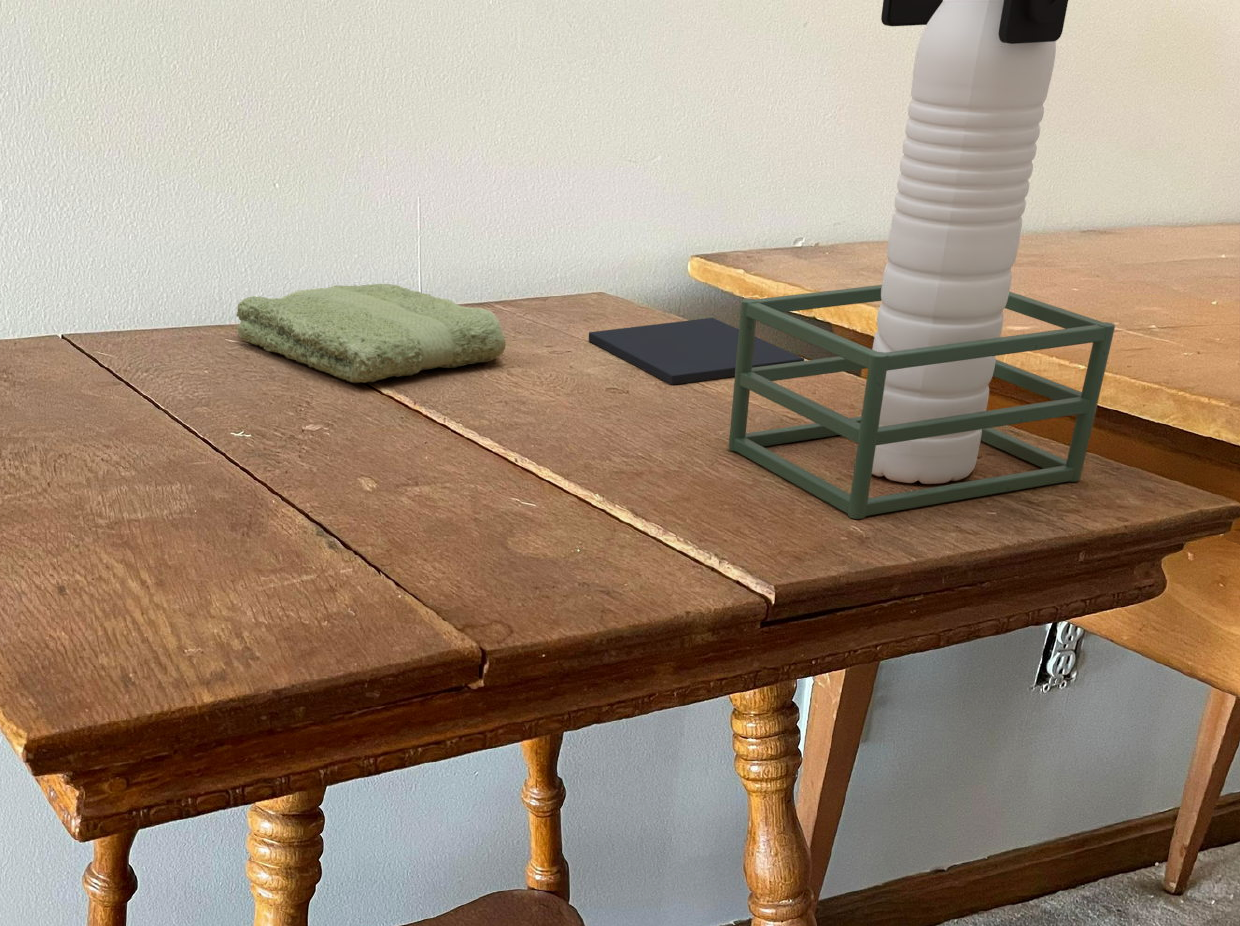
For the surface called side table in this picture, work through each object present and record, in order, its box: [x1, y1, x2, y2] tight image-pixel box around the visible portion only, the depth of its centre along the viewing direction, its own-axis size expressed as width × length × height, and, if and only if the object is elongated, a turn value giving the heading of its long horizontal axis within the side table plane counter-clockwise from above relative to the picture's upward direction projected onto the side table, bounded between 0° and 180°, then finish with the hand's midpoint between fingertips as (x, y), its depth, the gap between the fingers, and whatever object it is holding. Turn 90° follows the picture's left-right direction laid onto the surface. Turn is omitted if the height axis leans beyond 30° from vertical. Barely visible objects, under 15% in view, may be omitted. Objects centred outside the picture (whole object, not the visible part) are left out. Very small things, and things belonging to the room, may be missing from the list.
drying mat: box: [588, 317, 805, 386], centre depth 104 cm, size 12×10×1 cm
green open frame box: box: [728, 284, 1116, 520], centre depth 83 cm, size 13×15×8 cm
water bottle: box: [871, 0, 1057, 485], centre depth 78 cm, size 9×6×25 cm
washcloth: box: [235, 283, 507, 383], centre depth 104 cm, size 13×18×3 cm
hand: (966, 31), depth 73 cm, fingers closed on water bottle, 8 cm apart
